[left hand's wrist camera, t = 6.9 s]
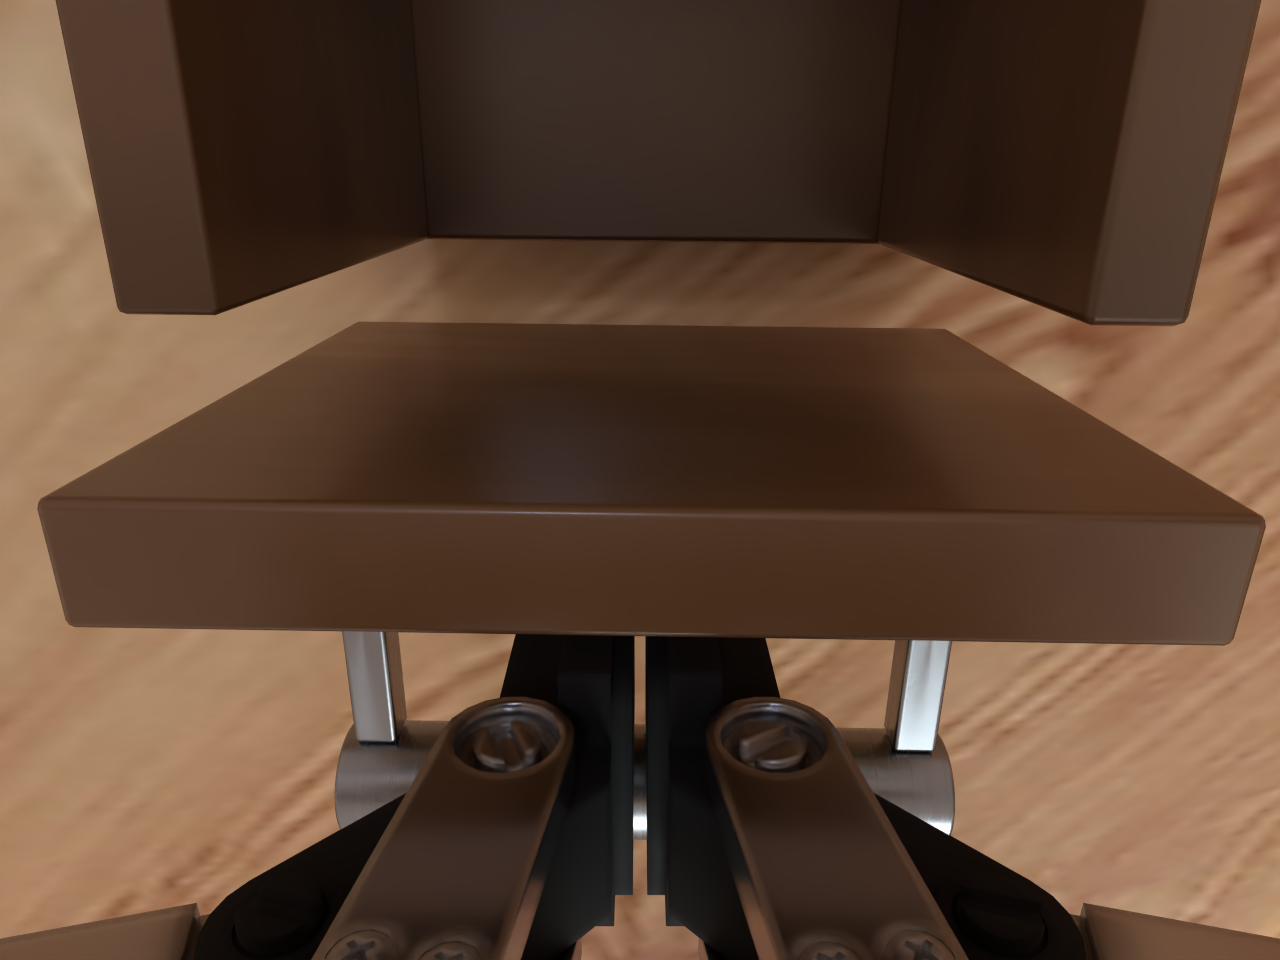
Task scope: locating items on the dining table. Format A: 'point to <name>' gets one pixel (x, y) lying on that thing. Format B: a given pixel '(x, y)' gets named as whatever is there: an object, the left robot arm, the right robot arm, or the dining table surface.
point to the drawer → (655, 335)
